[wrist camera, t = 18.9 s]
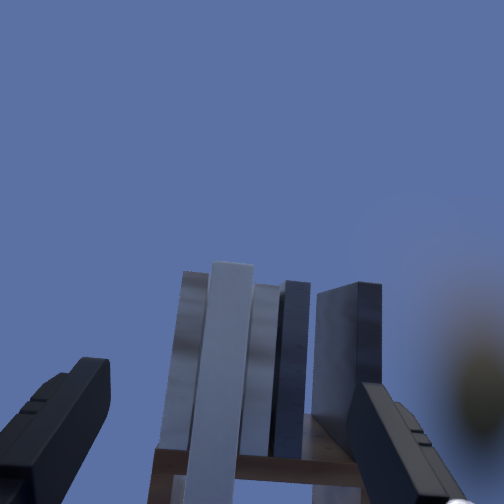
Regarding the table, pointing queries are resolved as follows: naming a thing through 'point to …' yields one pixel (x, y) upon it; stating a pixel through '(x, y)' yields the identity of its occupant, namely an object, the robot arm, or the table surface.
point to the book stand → (278, 388)
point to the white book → (220, 386)
